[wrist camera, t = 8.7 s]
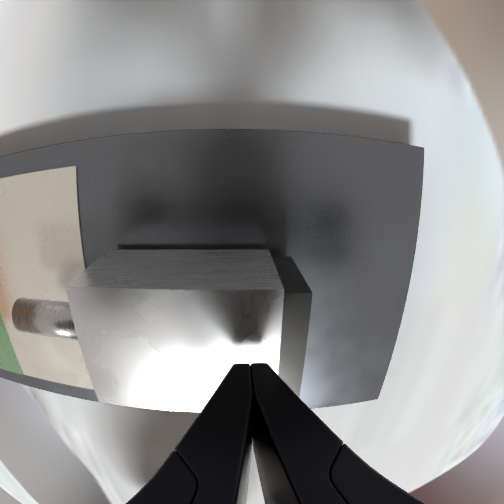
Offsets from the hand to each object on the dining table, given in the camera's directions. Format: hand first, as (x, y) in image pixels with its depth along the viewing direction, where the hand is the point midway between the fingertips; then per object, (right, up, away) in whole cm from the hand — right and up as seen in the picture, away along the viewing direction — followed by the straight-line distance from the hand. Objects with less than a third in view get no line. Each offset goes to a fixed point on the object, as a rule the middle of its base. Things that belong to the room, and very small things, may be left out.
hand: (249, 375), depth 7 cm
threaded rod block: (-4, +1, +4) cm, 6 cm away
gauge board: (-8, +2, +5) cm, 10 cm away
